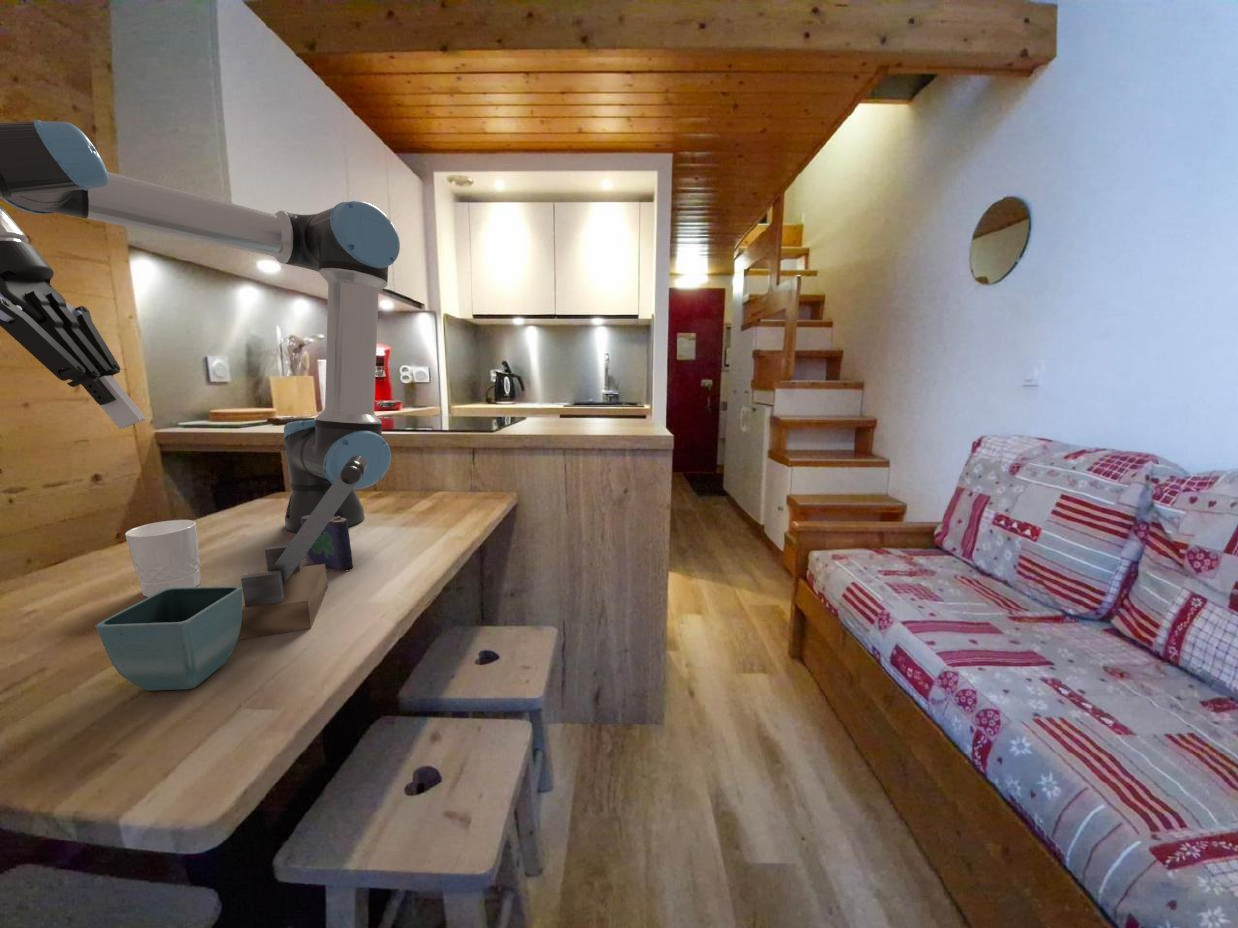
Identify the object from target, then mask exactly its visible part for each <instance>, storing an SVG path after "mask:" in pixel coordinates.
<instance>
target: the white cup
mask: <svg viewBox="0 0 1238 928" xmlns="http://www.w3.org/2000/svg"><path fill="white" fill-rule="evenodd" d="M197 531H198V530H197V523H196V521H194V520H192V519H174V520H166V521H165V520H164V521H158V522H157V521H156V522H153V523H152V522H151V523H147V524H144V525H140V526H136V527H133V528H131V529H129V530H127V531H126V532H125V534H124V535H125V539H126V542H127V546H128V549H129V554H130V558H131V561H132V565H133V568H134V569H135V570H134V571H135V573H136V578H137V579H138V580H139V585H140V589H141V592H142V593H141V594H142V596H144V597H146V598H148V597H150V596H152V595H154V594H156V593H158V592H160V591H162V590H164V589H167V588H190V587H199V585H200V584H201V573H200V566H201V562H200V554H199V550H200V549H199V540H198V532H197Z"/></svg>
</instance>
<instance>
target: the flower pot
mask: <svg viewBox="0 0 1238 928" xmlns="http://www.w3.org/2000/svg"><path fill="white" fill-rule="evenodd" d="M242 588H243V587H241V586H238V585H236V586H233V585H232V586H200V587H199V586H196V587H190V588H167V589H164V590H162V591H160V592H158V593H156V594H154V595H152V596H150V597H146V598H144V599H142V600H140V601H139V602H137V603H135V604H132V605H131V606H128V607H127V608H124V609H123V610H120V611H118V612H116V613H115V614H113V615H112V616H109V617H107V618H104V620H102V621H100V622H98V623H96V624H95V628H96V631H97V634H98V635H99V638H100V640H101V643H102V645H103V647H104V649H105V652H106V653H107V656H108V658H109V661H110V662H111V664H112V666H113V667H114V669H115V670H116V671H117V672H118V673H119V675H121V676H122V677H123V678H124V679H126V680H127V681H128V682H129V683H131V684H132V685H135V686H137V687H138V688H141V689H142V690H144V691H173V690H174V691H175V690H192V689H195V688H197V687H198V686H199V685H200V684H201V683H203V682H204V681H205V680H206V679H208V678H209V677H210V676H212V675H213V673H215V672H217V670H219V669H220V668H221V667H222V666H224V665H225V664H226V663H227V661H228V660H229V658H230V656H231V655H232V653H233V651H234V649H235V647H236V645H237V643H238V641H239V640H238V637H239V634H240V630H241V623H242Z"/></svg>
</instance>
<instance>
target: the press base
mask: <svg viewBox="0 0 1238 928" xmlns="http://www.w3.org/2000/svg"><path fill="white" fill-rule="evenodd" d="M288 545H289V544H283V545H275V546H266V548H265V549H264V554H265V559H266V560H265V561H266V567H267V568H266V569H267V570H264V571H263V570H262V571H256V572H255V571H254V572H248V573H247V574H243V575H242V577H240V583H239V584H238V585H237V586H241V587H243V588H242V623H241V630H240V634H239V637H238V640H237V641H240V640H247V639H253V638H259V637H265V636H271V635H277V634H284V633H288V632H296V631H300V630H306V629H307V630H308V629H311V628H312V627H313V625H314V622H315V620H316V618H317V615H318V612H319V610H320V607H321V605H322V602H323V601H324V598H323V597H325V595H326V593H327V591H326V590H328V588H329V586H328V578H327V569H326V568H325V564H320V565H311V566H307V565H306V566H302V561H301V562H300V563H299V565H298V566H297V567H296V569H295V570H294V572H293V573H292V574H291V576H290V577H289V578H288V580H287V581H286V583H285V584H284V585H283V583H282V575H281V570H278V571H270V570H271V569H272V567H273V566H274V564H275V563H276V562H277V560H278V559H279V557H280V556H281V555H282V553H283V552H284V551H285V549H286V548H287V546H288ZM269 571H270V572H269ZM325 592H326V593H325Z"/></svg>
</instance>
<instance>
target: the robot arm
mask: <svg viewBox="0 0 1238 928" xmlns="http://www.w3.org/2000/svg"><path fill="white" fill-rule="evenodd" d="M0 199H1V200H2V201H3V202H5V203H6V204H8V205H10V206H11V207H13V208H15V209H17V210H19V211H22V212H25V213H30V214H32V215H33V214H35V215H51V214H52V215H53V214H60V215H64V216H68V217H69V216H70V217H75V218H81V219H86V220H87V219H88V220H91V221H97V222H103V223H107V224H112V225H117V226H122V227H127V228H132V229H137V230H142V231H147V232H151V233H157V234H161V235H167V236H171V237H176V238H181V239H187V240H192V241H196V242H199V243H200V242H201V243H206V244H210V245H211V244H212V245H216V246H221V247H226V248H231V249H236V250H241V251H245V252H251V253H256V254H260V255H266V256H271V257H274V258H275V260H276V261H277V262H278V263H280V264H283V265H290V266H293V267H298V268H304V269H307V270H311V271H315V272H318V273H319V274H320V275H321V277H322V278H323V279H324V280H325V281H326V283H327V284H328V285H327V312H326V313H327V314H326V315H327V317H326V318H327V320H326V353H325V354H326V358H325V359H326V360H325V361H326V363H325V388H324V389H325V391H324V392H325V395H324V396H325V397H324V409H323V410H322V412H320V413H319V414H318V415H317V416H315V419H308V420H299V421H298V420H297V421H290V422H287V423H286V424H285V425H284V426H283V437H282V439H283V442H284V447H285V453H286V460H287V461H286V462H287V469H288V476H289V477H288V478H289V484H290V495H289V496H290V497H289V501H288V503H287V507H286V512H285V516H284V524H285V525H284V526H285V529H286V530H287V531H289V532H292V533H298V531H299V530H300V528H301V527H302V525H301V517H303V516H306V515H311V513H312V512H313V510H314V509H315V508H316V506H317V505H318V503H319V502H320V501H321V499H322V498H323V496H324V495H325V494H326V492H327V491H328V490H329V488H330V487H331V485H332V484H333V483H334V481H335V480H336V478H337V477H338V476H339V474H340V472H341V470H342V469H343V467H344V466H345V465H346V463H347V462H348V461H349V459H350V458H351V457H353V456H362V457H364V458H365V459H366V460H367V468H366V470H365V472H364V474H363V476H362V478H361V479H360V481H359V482H358V483H357V484H356V485H355V487H354V488H353V489H352V491H351V492H350V494H349V495H348V496H347V498H346V499H345V500H344V502H343V503H342V505H341V506H340V507H339V509H338V510H337V512H336V513H335V514H334V517H338V516H341V518H345V519H347V521H348V528H349V527H352V526H354V525H357V524H360V522H362V521H363V520H364V519H365V509H364V506H363V504H362V503H361V500H360V498H359V496H358V494H357V492H356V490H361V489H366V488H369V487H372V486H373V485H375V484H376V483H378V482H379V481H380V480H381V479H382V478H384V476H385V475H386V474H387V472H388V470H389V468H390V466H391V461H392V452H391V449H390V445H389V444H388V442H386V439H384V438H383V437H382V435H383V434H382V433H383V421H382V420H381V419H380V418H379V417H378V416H377V414H376V412H375V400H376V399H375V398H376V397H375V396H376V371H377V370H376V369H377V368H376V367H377V346H378V345H377V344H378V343H377V342H378V314H379V294H380V292H381V291H382V290H384V289H385V288H386V287H387V286H388V281H389V279H388V278H389V277H388V276H389V266H391V265H393V263H394V262H395V261H396V260H397V258H398V256H399V254H400V249H401V248H400V247H401V244H400V243H401V242H400V238H399V234H398V231H397V229H396V227H395V226H394V223H392V222H391V221H390V219H389V216H387V215H386V214H385V212H383V211H382V210H380V209H379V208H378V207H377V206H375V205H373V204H371V203H368V202H365V201H361V200H351V201H342V202H339V203H337V204H336V205H334V206H333V207H331V208H329V209H326V210H323V211H321V212H318V213H312V214H298V213H293V212H292V213H290V212H289V211H284V210H278V211H277V212H276V213H270V212H267V211H263V210H258V209H255V208H251V207H247V206H244V205H243V206H242V205H239V204H234V203H231V202H228V201H223V200H219V199H215V198H212V197H207V196H204V195H200V194H196V193H192V192H188V191H185V190H181V189H177V188H173V187H168V186H165V185H162V184H159V183H158V184H157V183H154V182H149V181H145V180H141V179H137V178H133V177H131V176H130V177H129V176H126V175H122V174H119V173H114V172H112V171H108V170H107V167H106V165H105V163H104V161H103V158H101V156H100V154H99V152H98V151H97V149H96V147H95V146H94V145H93V143H92V142H91V140H90V139H89V138H88V136H87V135H86V134H85V133H84V132H83V131H82V130H81V129H80V128H79V127H77V126H76V125H75V124H72V123H70V122H68V121H46V120H40V119H34V120H33V121H20V122H19V121H18V122H14V121H13V122H0ZM29 240H30V239H29V238H28V237H27V236H26V234H25V233H24V232H23V231H22V229H21V228H20V227H19V226H18V224H17V223H16V222H15V220H13V219H12V217H11V216H10V215H9V214H8V213H7V211H6V210H5V208H4V207H3V206H2V204H0V327H1V328H2V329H3V330H4V331H6V332H7V333H8V335H10V336H11V337H12V338H13V339H14V340H15V341H17V343H19V344H20V345H21V346H22V347H23V348H24V349H25V350H26V351H27V352H29V354H31V355H32V356H33V357H34V358H35V359H36V360H37V361H38V362H40V363H41V364H42V365H43V366H44V367H45V368H46V369H47V370H49V372H51V373H52V375H54V376H55V377H56V378H58V379H59V380H60V381H63V382H66V384H67V385H68V386H69V387H72V388H75V387H77V386H80V385H81V387H83V389H85V391H86V392H87V393H88V394H89V396H91V397H92V399H93V400H94V401H95V402H96V403H97V405H99V406H100V407H101V409H102V410H103V411H104V413H106V415H107V416H108V417H109V419H111V421H112V422H113V424H115V426H117V428H118V429H119V430H121V429H125V428H129V427H131V426H134V425H136V424H137V423H139V422H142V421H144V420H146V419H147V418H148V417H147V416H146V415H145V414H144V413H143V412H142V410H141V409H140V408H139V406H137V404H136V403H135V402H134V401H133V400H132V398H131V397H130V396H129V395H128V394H127V392H126V391H125V390H124V388H122V386H121V384H119V382H118V381H117V380H116V379H115V378H114V376H115V375H118V374H119V373H120V372H121V367H120V365H119V363H118V361H117V360H116V358H115V357H114V355H113V353H112V352H111V350H110V349H109V347H108V345H107V344H106V341H104V339H103V336H102V335H101V334H100V331H99V330H98V328H97V326H96V325H95V324H94V322H93V319H92V316H91V315H92V314H91V312H90V310H89V309H88V308H87V307H85V306H83V305H79V306H78V307H74V306H73V305H71V304H70V303H67V302H66V299H65V297H64V296H63V295H62V294H61V293H60V292H58V291H57V290H56V289H55V287H53V286H52V285H51V280H52V278H54V275H55V272H54V270H53V268H52V267H51V266H50V264H49V263H48V262H47V261H46V260H45V258H44V257H43V256H42V255H41V253H40V252H39V251H38V250H37V248H36V247H35V246H33V245H32V244H29ZM68 380H70V381H68ZM67 381H68V382H67Z"/></svg>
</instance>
